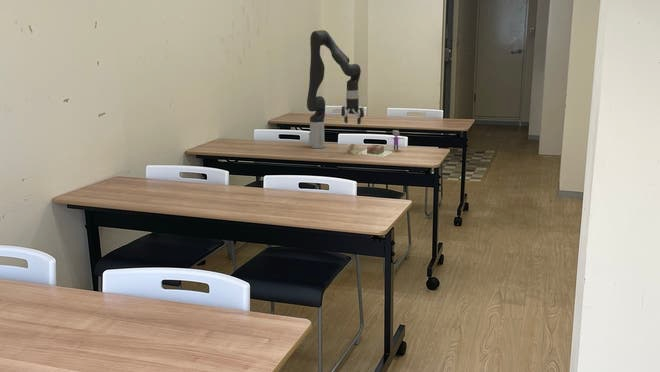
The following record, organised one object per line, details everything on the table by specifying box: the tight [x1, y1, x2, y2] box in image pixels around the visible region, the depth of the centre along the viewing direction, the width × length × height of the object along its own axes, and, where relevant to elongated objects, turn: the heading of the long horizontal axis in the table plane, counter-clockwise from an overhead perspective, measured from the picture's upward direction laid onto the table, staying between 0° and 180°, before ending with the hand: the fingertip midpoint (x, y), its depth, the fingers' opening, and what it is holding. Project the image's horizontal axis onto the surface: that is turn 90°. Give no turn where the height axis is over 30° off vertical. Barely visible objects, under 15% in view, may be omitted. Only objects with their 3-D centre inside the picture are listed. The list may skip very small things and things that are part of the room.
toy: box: [392, 129, 405, 152], centre depth 389 cm, size 10×6×15 cm, turn 84°
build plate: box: [357, 148, 393, 158], centre depth 388 cm, size 18×14×2 cm
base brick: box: [366, 143, 385, 155], centre depth 387 cm, size 8×8×4 cm
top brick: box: [346, 143, 359, 155], centre depth 388 cm, size 5×5×7 cm
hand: (352, 123), depth 383 cm, fingers open, 8 cm apart
